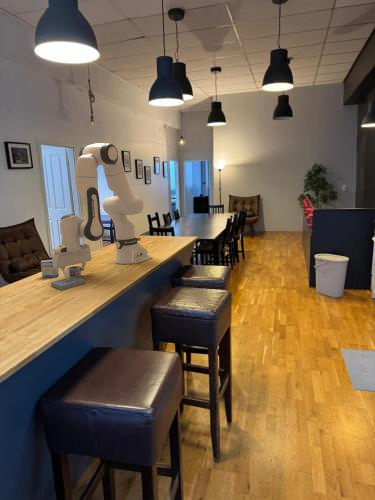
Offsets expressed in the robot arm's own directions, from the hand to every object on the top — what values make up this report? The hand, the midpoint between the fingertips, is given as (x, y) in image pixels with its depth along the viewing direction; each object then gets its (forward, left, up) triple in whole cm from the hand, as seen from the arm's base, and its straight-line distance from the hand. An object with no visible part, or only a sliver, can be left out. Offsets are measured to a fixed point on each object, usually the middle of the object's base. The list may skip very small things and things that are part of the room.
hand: (74, 272), depth 180 cm
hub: (0, 0, -2) cm, 2 cm away
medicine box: (+7, -12, -3) cm, 14 cm away
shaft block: (+9, +10, -2) cm, 13 cm away
